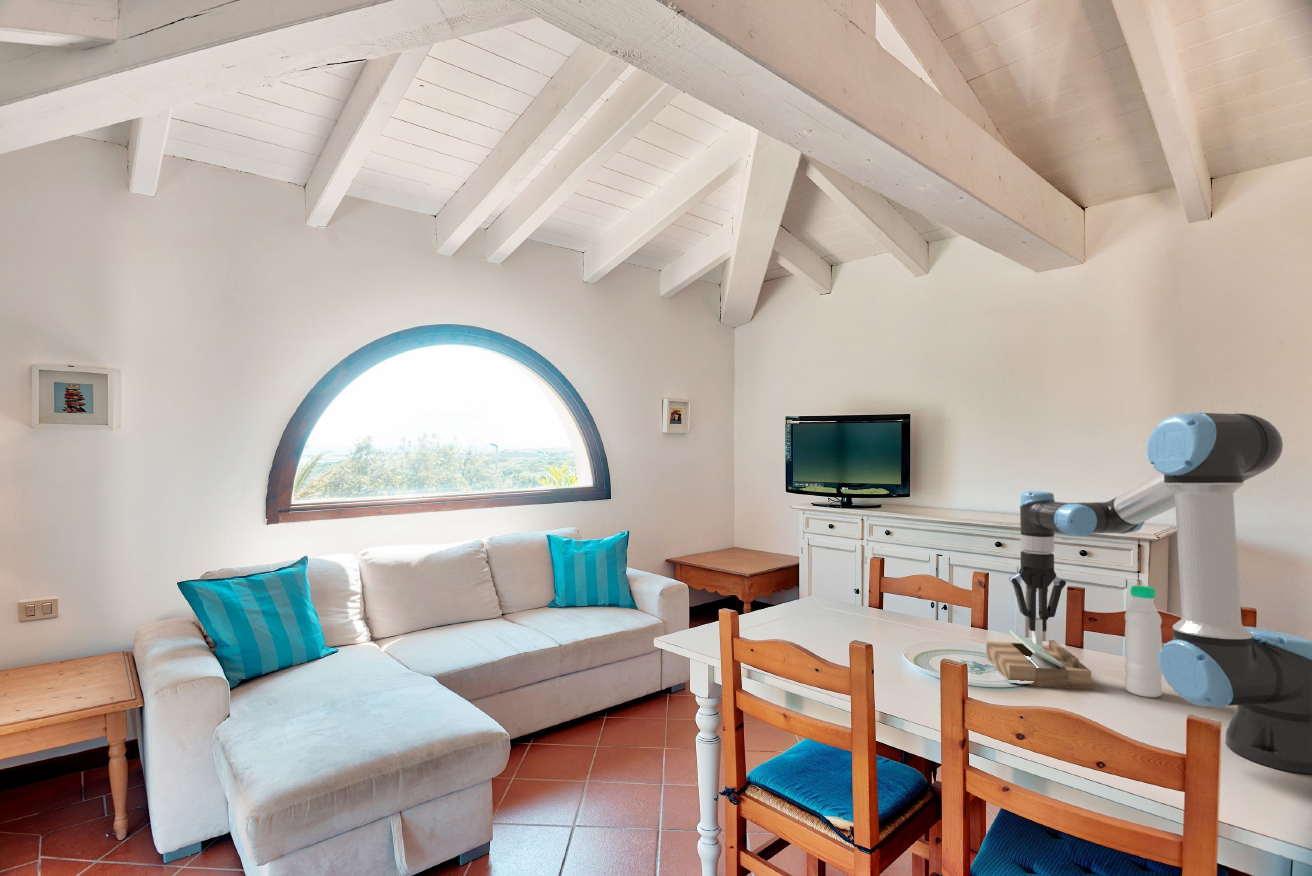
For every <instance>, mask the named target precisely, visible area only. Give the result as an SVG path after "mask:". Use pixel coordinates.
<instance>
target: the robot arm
mask: <svg viewBox="0 0 1312 876" xmlns="http://www.w3.org/2000/svg"><path fill="white" fill-rule="evenodd" d="M1283 443H1284V442H1283V439H1282V436H1281V434H1280V432H1279V430H1278V429H1277V428H1276V426H1275V425H1273V424H1272V423H1271V422H1270V421H1268V420H1266V419H1265V418H1263V417H1260V416H1257V415H1255V414H1254V415H1253V414H1248V413H1221V412H1220V413H1217V412H1216V413H1215V412H1214V413H1212V412H1210V413H1209V412H1191V413H1180V414H1173V415H1170V416H1169V417H1166V418H1164V419H1163V420H1161V421H1160V422H1159V423H1158V424H1157V426H1156V427H1154V428H1153V430H1152V431H1151V433H1150V435H1149V437H1148V440H1147V447H1146V453H1147V458H1148V461H1149V463H1150V464H1151V465H1153V469H1155V470H1156V472H1157V471H1158V472H1159V474H1157V475H1155V476H1154V477H1151V478H1149V479H1148V480H1146V481H1144V482H1142V483H1140V484H1138V485H1136V486H1135V487H1132V488H1131V489H1129V490H1127V491H1125V492H1124V493H1122V494H1119V495H1118V496H1116V497H1114V498H1113V499H1110V500H1108V501H1105V502H1104V501H1101V502H1100V501H1099V502H1098V501H1097V502H1095V501H1094V502H1064V501H1063V502H1062V501H1061V502H1060V501H1056V500H1055V495H1054V494H1053V492H1050V491H1040V490H1039V491H1037V490H1036V491H1034V490H1030V491H1029V490H1028V491H1023V492H1022V493H1021V494H1020V505H1019V509H1020V511H1019V512H1020V514H1019V515H1020V522H1019V524H1020V549H1021V551H1020V567H1019V568H1020V569H1019V570H1018V574H1016V575H1014V576H1010V577H1009V578H1008V580H1009V582H1010V584H1011V585H1012V587H1013V589H1014V593H1015V597H1016V601H1017V605H1018V610H1019V612H1020V613H1021V614H1022V615H1023V616H1024V617H1027V618H1028V620H1027V622H1028V623H1027V624H1028V625H1027V626H1028V629H1029V631H1031V632H1032V635H1031V636H1032V637H1031V640H1032V642H1033V643H1034V644H1036V645H1043V633H1044V632H1047V621H1048V620H1049V618H1054V617H1055V616H1056V613H1057V609H1058V605H1059V601H1060V598H1061V594H1062V590H1063V589H1064V588H1065V586H1067V585H1066V584H1067V581H1066V580H1064V579H1062V578H1060V577H1058V576H1057V573H1056V572H1055V554H1054V551H1055V533H1059V534H1062V535H1063V534H1064V535H1067V536H1070V537H1087V536H1088V535H1090V534H1091V535H1092V534H1121V535H1122V534H1128V533H1129V534H1130V533H1135V532H1138V531H1139V530H1141V529H1142V527H1143V525H1145V522H1146V521H1149V520H1150V519H1152V518H1154V517H1156V516H1158V515H1160V514H1163V513H1165V512H1167V511H1169V510H1172V509H1174V508H1175V521H1176V537H1177V552H1178V554H1177V555H1178V556H1177V557H1178V568H1179V569H1178V570H1179V573H1178V574H1179V586H1180V589H1179V591H1180V605H1181V606H1180V607H1181V619H1180V620H1178V621H1177V622H1176V623H1174V624H1173V625H1172V640H1170V641H1167V642H1166V643H1164V644H1163V646H1162V648H1161V649H1160V652H1159V665H1160V669H1161V672H1162V676H1163V678H1164V680H1165V681H1166V683H1167V684H1168V686H1170V687H1171V688H1172V689H1173V691H1174V692H1175V693H1176V695H1178V696H1179V697H1180V698H1182V699H1184V700H1185V701H1186V702H1189V703H1190V704H1193V705H1196V706H1200V707H1201V706H1202V707H1215V708H1224V707H1227V706H1237V707H1236V709H1235V711H1234V713H1233V715H1232V717H1231V719H1230V721H1229V722H1230V723H1228V726H1227V728H1226V731H1225V745H1226V746H1227V748H1229V750H1231V751H1232V752H1233V753H1235V754H1237V755H1239V756H1242V757H1243V758H1245V759H1247V760H1249V761H1253V762H1255V763H1257V764H1260V765H1264V766H1267V767H1270V768H1274V769H1278V770H1283V771H1287V772H1293V773H1297V774H1305V775H1312V640H1311V639H1307V638H1306V637H1305V638H1304V637H1302V636H1299V635H1298V636H1297V635H1294V634H1290V633H1286V632H1281V631H1277V630H1272V629H1266V628H1261V627H1255V626H1244V625H1243V623H1242V611H1241V609H1242V608H1241V595H1240V594H1241V593H1240V579H1239V577H1240V575H1239V562H1238V549H1237V547H1238V546H1237V531H1236V530H1237V529H1236V516H1235V515H1236V513H1235V502H1234V501H1235V500H1234V497H1235V496H1234V493H1235V492H1236V491H1237V490H1238V489H1240V488H1241V487H1243V485H1244V482H1245V481H1246V480H1250V479H1251V478H1254V477H1256V476H1258V475H1261V474H1262V473H1264V472H1265V471H1267V470H1269V469H1271V468H1272V467H1273V466H1274V465H1275V464H1276V463H1277V461H1278V460H1279V459H1280V457H1281V456H1282V452H1283V447H1284V444H1283ZM1022 581H1023V582H1024V584H1025V585H1026V589H1027V603H1026V600H1025V596H1024V591H1023V589H1022V588H1023V587H1022V585H1021V584H1022ZM1052 583H1053V585H1052V589H1051V593H1050V597H1049V600H1048V592H1049V587H1050V585H1051V584H1052ZM1037 592H1038V616H1037Z"/></svg>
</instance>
